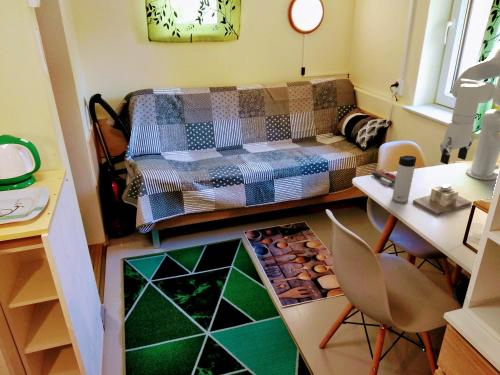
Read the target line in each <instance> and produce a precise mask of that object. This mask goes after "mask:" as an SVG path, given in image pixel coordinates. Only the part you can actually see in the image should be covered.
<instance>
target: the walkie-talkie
mask: <svg viewBox="0 0 500 375" xmlns="http://www.w3.org/2000/svg"><path fill="white" fill-rule="evenodd" d="M371 175H372V176H374V178H376V179H378V180H380V182H381V184H383V185H386V186H387V187H393V188H394V185H395V180H396V175H397V173H396V172H395V173H394V172H393V171H388V170H387V169H378V170H375V171H374V172H373V173H372V174H371Z"/></svg>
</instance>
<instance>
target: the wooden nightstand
mask: <svg viewBox="0 0 500 375" xmlns="http://www.w3.org/2000/svg"><path fill="white" fill-rule="evenodd" d="M443 185H444V184H443ZM443 185H439V186H435V187H432V188H431V192H430V194H429V195H430V200H432V201H434V202H436V203H438V204H440V205H442V206H447V205H450V204H453V203H456V200H457V196H459V191H458V190H455V189H454V188H451V189H450V191H448V192H445V193H443V192H441V191H440V189H441V186H443Z"/></svg>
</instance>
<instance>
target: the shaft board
mask: <svg viewBox="0 0 500 375" xmlns="http://www.w3.org/2000/svg"><path fill="white" fill-rule="evenodd" d="M440 186H441V189H440V191H441V192H443V193H445V192H448V191H450V189H452V184H449V183H447V184H443V186H442V185H440ZM430 195H431V194H429V195H427V196H423V197H420V198H419V197H418V198H416V199H413V200H412V204H414V205H415V206H417V207H419V208H421V209H423V210H424V211H426V212H428V213H430V214H432V215H434V216H436V217H439V216H442V215H445V214H448V213H451V212H454V211H458V210H460V209H464V208H468V207H469V206H472V202H473V201H471V200H468V199H467V198H465V197H462V196H461V195H458V196H457V200H456V203H453V204H450V205H447V206H442V205H440V204H438V203H436V202H434V201H432V200H430Z"/></svg>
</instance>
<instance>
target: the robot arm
mask: <svg viewBox="0 0 500 375" xmlns="http://www.w3.org/2000/svg"><path fill="white" fill-rule="evenodd" d="M494 78H498V79H497V83H496V85H495V84H494V83H492V82H490V81H483V80H488V79H494ZM451 94H452V96H453V97H454V98H455V103H454V107H453V112H452V116H451V119H450V120H451V121H450V122H449V123H448V125H447V127H446V130H445V134H444V137H443V141H442V142H441V143H440V145H439V146H440V151H441V155H440V156H441V157H440V161H439V162H440V163H442V164H444V165H449V162H450V157H451V153H452V151H453V150H457V149H458V154H457V158H458V159H461V160H462V161H465V160H466V159H467V156H468V152H469V150H470V147H471V146H472V143H473V141H474V139H475V137H474V136H473V132H474V124H475V120H476V115H477V112H478V108H479V104H485V103H488V102H492V104H493V105H494V106H496V107H500V41H499V42H498V43H497V44H496V45H495V47H494V48H493V49H492V51H490V53H489V55H488V57H487V58H486V59H485V60H483V61H480V62H478V63H475V64H474V65H470V66H468V67H467V68H465V69H464V70H463V71H462V72H461V73H460V74H459V76H458V77H457V79H456V80H455V82H454V83H453V85H452V88H451ZM480 124H481V126H480V133H479V137H478V142H477V144H476V149H475V152H474V155H473V159H472V163H471V167H469V168H467V169H466V171H465V173H466V175H467V176H469V177H471V178H473V179H477V180H480V181H493V180H495V179H496V178H497V174H496V172H494V171H496V170H498V169H499V168H500V166H499V165H497V162H498V158H499V156H500V109H496V108H495V109H489V110H486V111H485V112H484V113H483V114H482V117H481V123H480Z"/></svg>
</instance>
